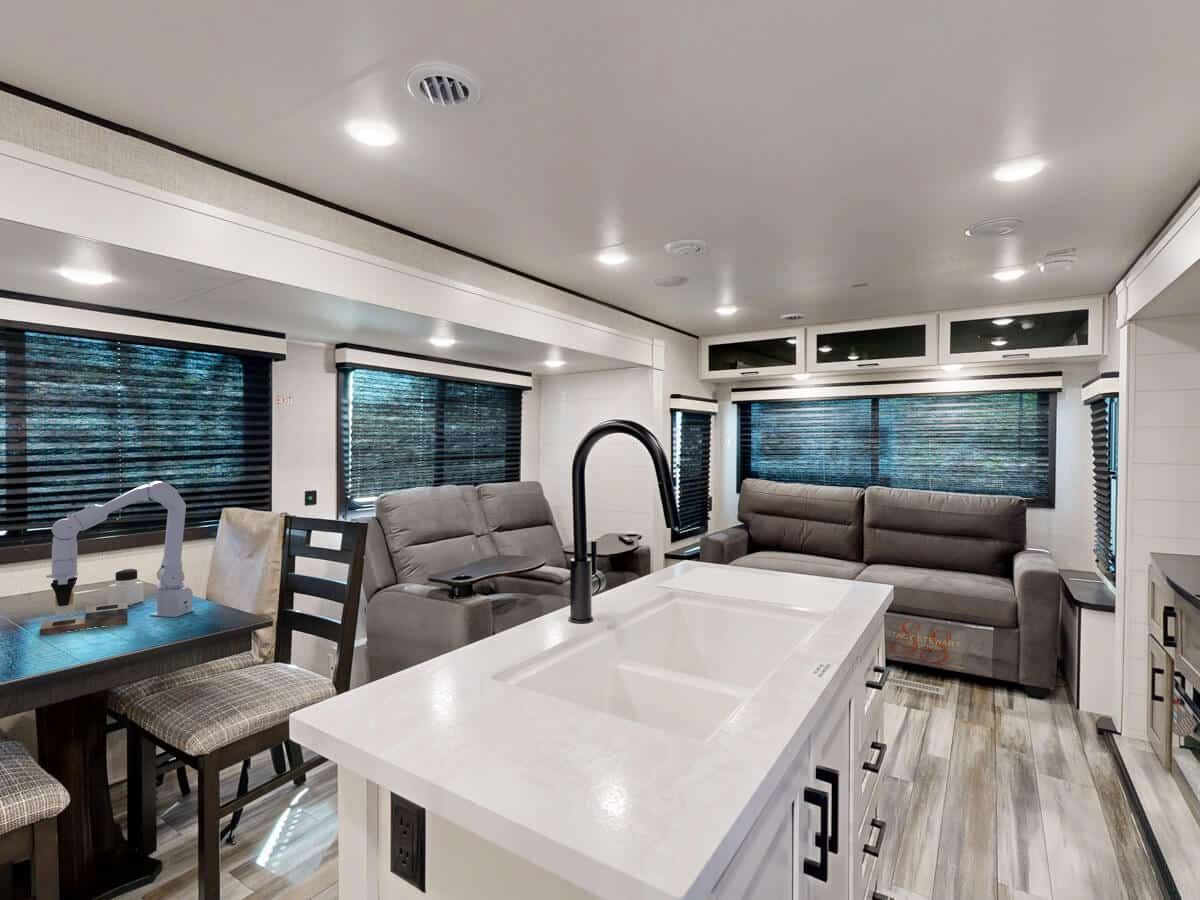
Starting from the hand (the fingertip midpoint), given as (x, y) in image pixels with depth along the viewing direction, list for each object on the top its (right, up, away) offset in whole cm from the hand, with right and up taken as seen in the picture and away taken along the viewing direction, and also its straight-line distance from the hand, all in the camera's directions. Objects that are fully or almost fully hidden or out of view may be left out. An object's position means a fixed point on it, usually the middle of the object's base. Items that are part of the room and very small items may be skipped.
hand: (64, 603), depth 180 cm
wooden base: (+4, -8, +3) cm, 9 cm away
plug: (0, -3, 0) cm, 3 cm away
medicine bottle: (-4, -8, +29) cm, 30 cm away
